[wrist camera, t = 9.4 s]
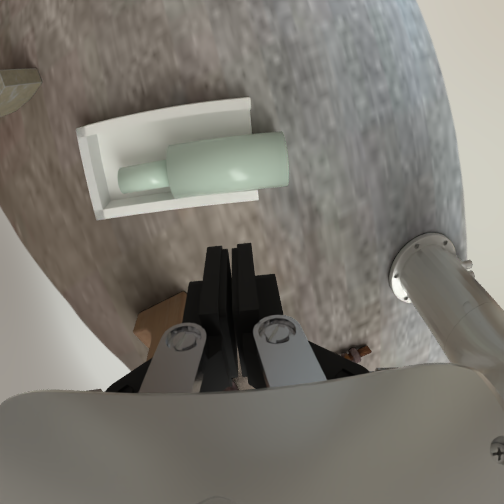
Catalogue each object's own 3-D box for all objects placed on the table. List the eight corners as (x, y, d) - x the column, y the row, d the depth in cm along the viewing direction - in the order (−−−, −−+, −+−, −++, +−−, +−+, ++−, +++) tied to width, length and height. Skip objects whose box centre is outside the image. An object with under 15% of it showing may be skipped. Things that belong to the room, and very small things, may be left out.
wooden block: (155, 331, 49) (135, 427, 33) (137, 312, 47) (109, 409, 31) (201, 310, 47) (193, 413, 31) (184, 289, 45) (166, 392, 29)
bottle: (289, 151, 29) (107, 177, 29) (288, 197, 34) (126, 218, 34) (279, 121, 33) (120, 144, 33) (279, 164, 38) (134, 183, 38)
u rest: (248, 96, 33) (250, 97, 30) (256, 190, 39) (258, 200, 36) (87, 124, 33) (75, 128, 30) (106, 209, 38) (96, 220, 35)
